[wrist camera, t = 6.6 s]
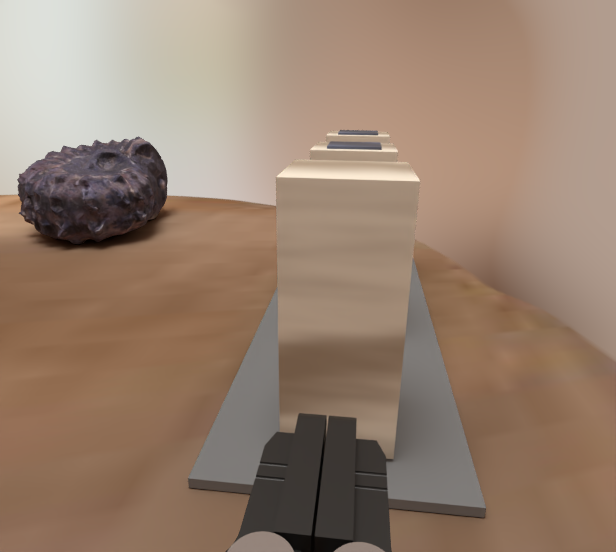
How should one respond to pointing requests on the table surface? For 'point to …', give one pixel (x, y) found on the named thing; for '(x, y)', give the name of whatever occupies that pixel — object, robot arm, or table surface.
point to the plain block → (344, 291)
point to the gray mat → (409, 432)
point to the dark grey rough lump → (94, 190)
